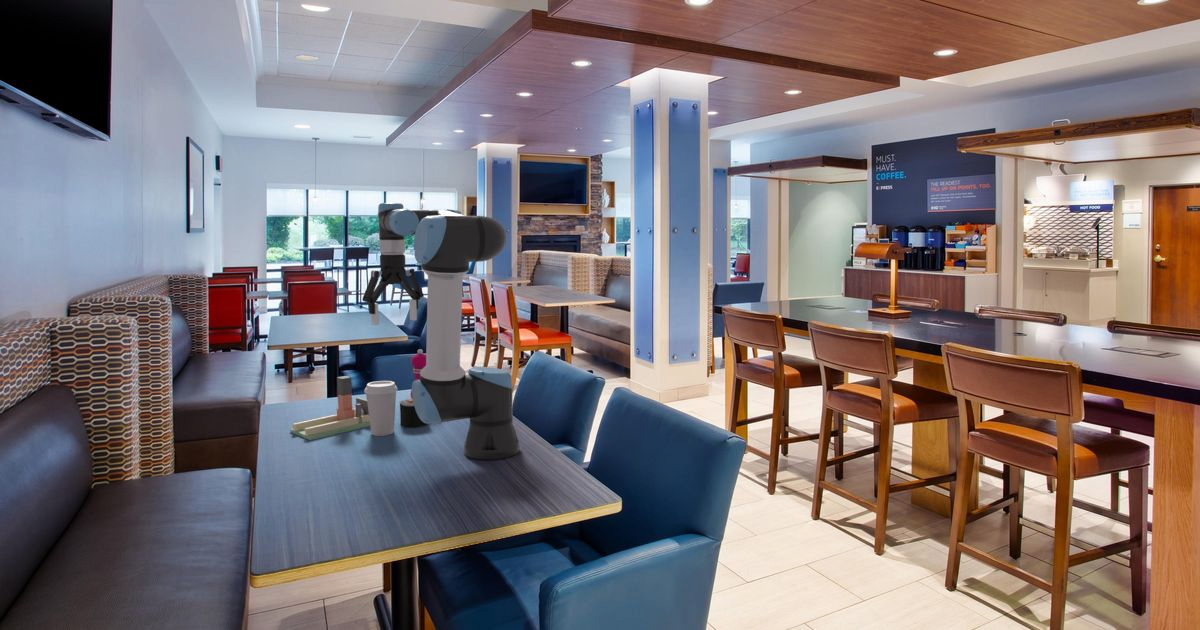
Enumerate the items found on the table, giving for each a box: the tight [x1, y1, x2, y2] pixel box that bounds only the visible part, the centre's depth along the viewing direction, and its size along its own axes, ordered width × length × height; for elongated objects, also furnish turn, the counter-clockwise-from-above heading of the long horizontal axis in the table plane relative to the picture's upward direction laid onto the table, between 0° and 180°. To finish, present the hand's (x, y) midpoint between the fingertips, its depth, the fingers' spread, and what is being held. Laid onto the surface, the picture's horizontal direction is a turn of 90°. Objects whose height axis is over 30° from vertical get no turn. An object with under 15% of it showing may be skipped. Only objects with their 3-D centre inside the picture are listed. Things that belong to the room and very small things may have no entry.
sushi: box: [399, 397, 429, 429], centre depth 223 cm, size 8×8×8 cm
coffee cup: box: [363, 380, 399, 437], centre depth 213 cm, size 10×10×15 cm
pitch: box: [289, 397, 370, 441], centre depth 218 cm, size 12×22×7 cm, turn 139°
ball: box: [353, 407, 364, 417], centre depth 224 cm, size 4×4×4 cm
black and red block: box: [336, 375, 354, 421], centre depth 220 cm, size 5×3×14 cm, turn 49°
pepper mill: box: [410, 348, 426, 399], centre depth 243 cm, size 7×7×20 cm
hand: (394, 322), depth 222 cm, fingers open, 13 cm apart
